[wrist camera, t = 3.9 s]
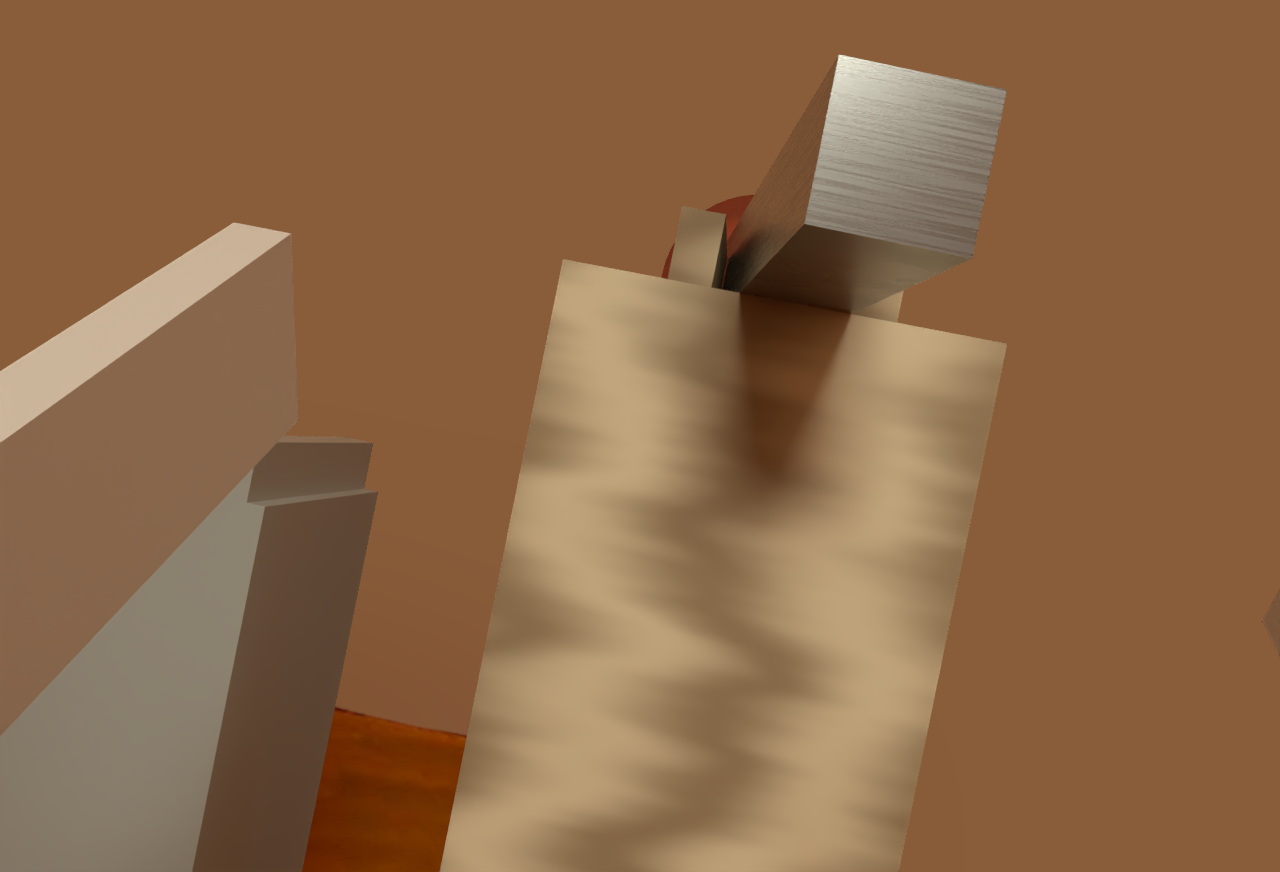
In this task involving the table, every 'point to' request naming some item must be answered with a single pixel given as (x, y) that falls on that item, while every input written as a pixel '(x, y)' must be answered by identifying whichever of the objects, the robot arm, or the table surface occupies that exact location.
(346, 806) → the table surface
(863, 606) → the beige patterned tall block
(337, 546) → the tall grey block
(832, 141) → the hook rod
